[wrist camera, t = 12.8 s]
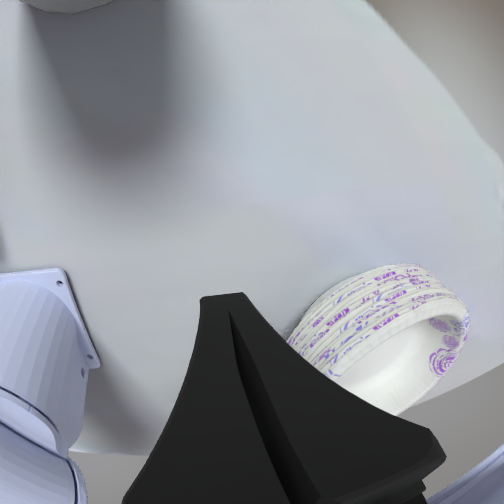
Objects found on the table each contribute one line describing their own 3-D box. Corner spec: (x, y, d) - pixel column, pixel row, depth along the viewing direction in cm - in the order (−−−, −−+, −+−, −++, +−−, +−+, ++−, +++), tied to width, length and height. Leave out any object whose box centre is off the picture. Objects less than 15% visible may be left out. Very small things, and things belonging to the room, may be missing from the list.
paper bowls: (430, 308, 29) (474, 359, 22) (314, 391, 31) (342, 452, 24) (393, 200, 21) (470, 258, 14) (225, 325, 23) (249, 417, 16)
